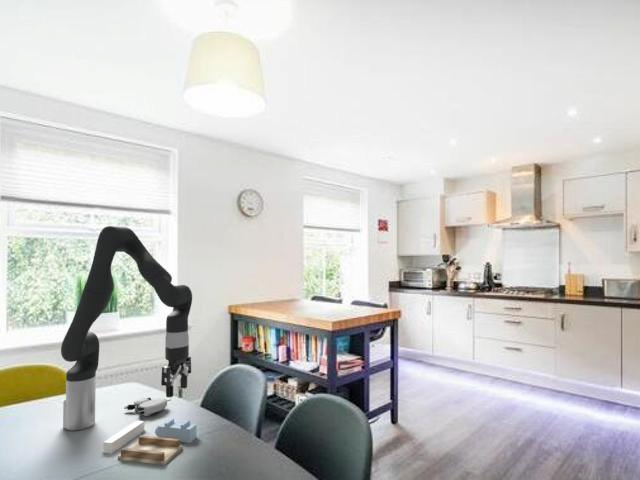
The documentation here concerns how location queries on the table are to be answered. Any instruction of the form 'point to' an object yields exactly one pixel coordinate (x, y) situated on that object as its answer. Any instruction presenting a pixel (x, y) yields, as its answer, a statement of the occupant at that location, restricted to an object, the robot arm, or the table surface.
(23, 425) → the table surface
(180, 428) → the light blue stepped block
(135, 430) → the white rectangular bar
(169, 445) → the jig
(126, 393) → the table surface
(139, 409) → the robot toy
